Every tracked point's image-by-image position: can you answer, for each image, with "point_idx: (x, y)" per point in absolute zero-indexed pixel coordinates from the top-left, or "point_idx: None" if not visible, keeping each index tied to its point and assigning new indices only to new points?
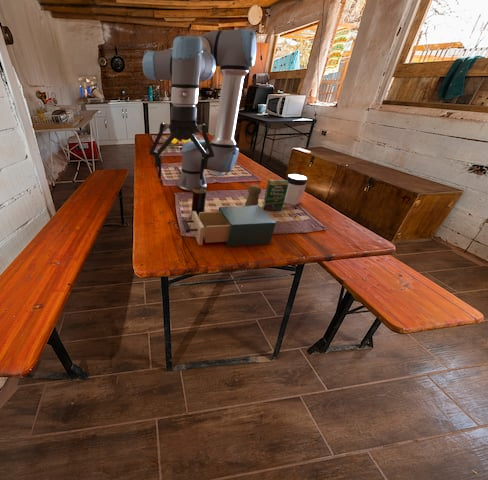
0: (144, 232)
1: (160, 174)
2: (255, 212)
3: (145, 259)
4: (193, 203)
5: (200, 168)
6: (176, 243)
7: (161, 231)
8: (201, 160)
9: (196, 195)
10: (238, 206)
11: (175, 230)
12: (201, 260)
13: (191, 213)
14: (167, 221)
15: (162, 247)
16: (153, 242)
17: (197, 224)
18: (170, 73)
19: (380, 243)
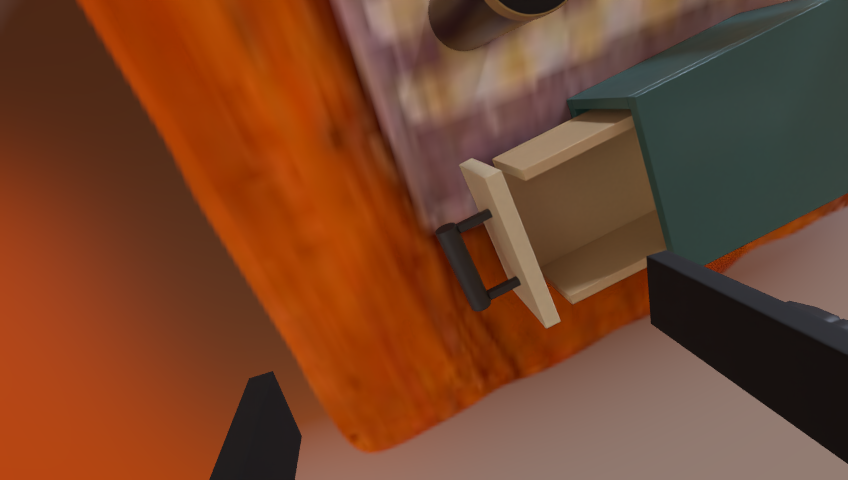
0: (262, 266)
1: (294, 464)
2: (815, 100)
3: (352, 413)
4: (462, 22)
5: (721, 310)
6: (424, 292)
7: (332, 230)
8: (833, 411)
9: (500, 22)
10: (744, 46)
11: (390, 198)
12: (527, 349)
13: (435, 22)
14: (322, 125)
15: (382, 334)
16: (335, 319)
17: (523, 281)
18: None
19: None
